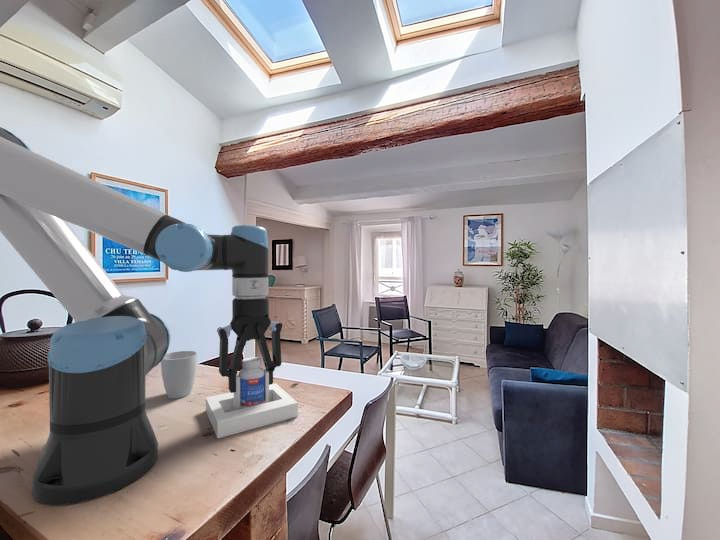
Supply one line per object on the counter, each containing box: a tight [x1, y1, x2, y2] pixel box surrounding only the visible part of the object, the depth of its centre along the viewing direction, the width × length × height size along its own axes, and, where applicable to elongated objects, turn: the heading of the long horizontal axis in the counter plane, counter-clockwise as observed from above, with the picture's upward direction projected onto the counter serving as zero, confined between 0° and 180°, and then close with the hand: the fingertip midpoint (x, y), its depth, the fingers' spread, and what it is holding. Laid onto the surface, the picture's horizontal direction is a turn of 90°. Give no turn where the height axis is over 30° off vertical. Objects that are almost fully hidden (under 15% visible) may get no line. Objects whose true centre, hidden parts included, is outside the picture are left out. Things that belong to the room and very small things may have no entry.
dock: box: [205, 382, 299, 439], centre depth 73 cm, size 16×20×3 cm
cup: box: [160, 350, 198, 399], centre depth 81 cm, size 8×8×10 cm
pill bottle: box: [238, 356, 265, 408], centre depth 70 cm, size 6×5×10 cm
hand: (251, 402), depth 70 cm, fingers closed on pill bottle, 5 cm apart
